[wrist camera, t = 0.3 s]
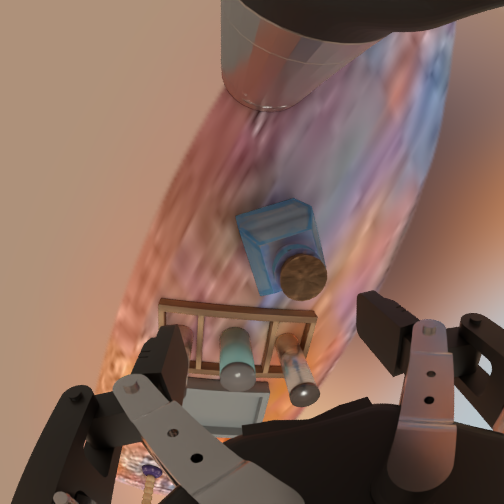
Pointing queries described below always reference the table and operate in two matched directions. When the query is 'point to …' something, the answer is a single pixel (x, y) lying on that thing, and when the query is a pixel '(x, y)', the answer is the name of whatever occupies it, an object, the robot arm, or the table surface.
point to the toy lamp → (150, 481)
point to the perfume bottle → (284, 249)
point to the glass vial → (187, 346)
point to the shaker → (236, 360)
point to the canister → (296, 371)
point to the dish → (225, 406)
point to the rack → (245, 314)
